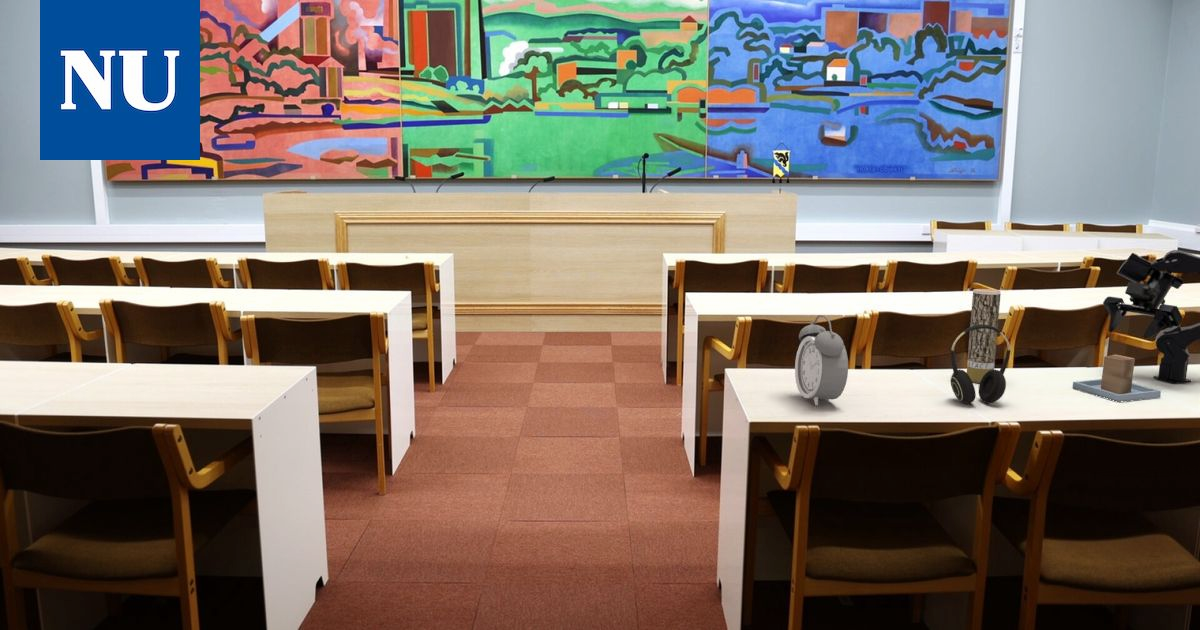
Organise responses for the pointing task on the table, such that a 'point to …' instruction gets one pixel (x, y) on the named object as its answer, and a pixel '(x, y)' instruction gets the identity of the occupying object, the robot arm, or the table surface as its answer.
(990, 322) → the paper tube
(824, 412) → the table surface
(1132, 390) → the tray
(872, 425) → the table surface
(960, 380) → the headphones
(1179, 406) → the table surface
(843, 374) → the alarm clock
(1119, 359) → the walnut block
